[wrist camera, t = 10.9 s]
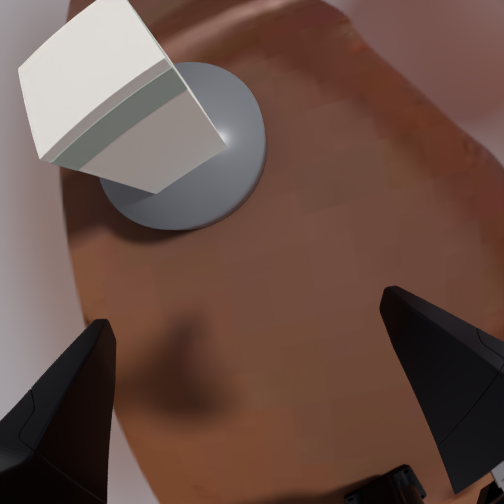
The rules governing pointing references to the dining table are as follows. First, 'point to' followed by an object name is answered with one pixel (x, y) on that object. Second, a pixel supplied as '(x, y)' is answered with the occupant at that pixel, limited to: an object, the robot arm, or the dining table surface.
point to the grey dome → (211, 171)
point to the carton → (114, 102)
